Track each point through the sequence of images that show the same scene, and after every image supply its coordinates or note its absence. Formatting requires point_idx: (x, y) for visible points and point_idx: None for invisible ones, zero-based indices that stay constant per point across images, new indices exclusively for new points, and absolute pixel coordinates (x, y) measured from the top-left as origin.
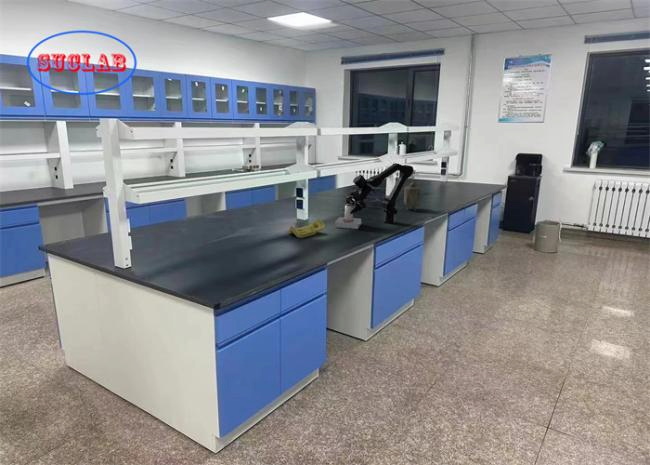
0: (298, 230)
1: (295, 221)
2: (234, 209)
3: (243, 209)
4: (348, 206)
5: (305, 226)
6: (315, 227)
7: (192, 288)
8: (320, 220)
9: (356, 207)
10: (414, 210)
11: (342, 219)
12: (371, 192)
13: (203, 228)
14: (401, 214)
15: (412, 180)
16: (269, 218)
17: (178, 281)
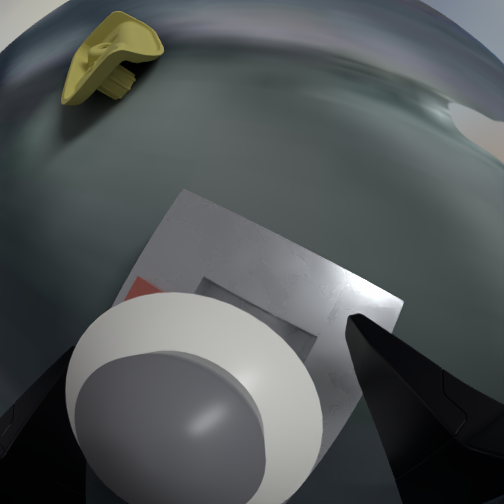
0: (115, 37)
1: (387, 67)
2: (481, 43)
3: (490, 55)
4: (88, 367)
5: (127, 40)
6: (118, 74)
7: (18, 37)
8: (100, 63)
9: (15, 462)
10: None
11: (282, 304)
12: None
13: None
14: None
15: None
16: (416, 36)
17: (40, 21)
